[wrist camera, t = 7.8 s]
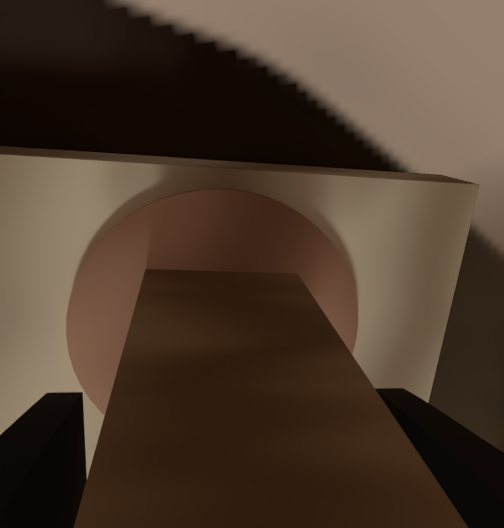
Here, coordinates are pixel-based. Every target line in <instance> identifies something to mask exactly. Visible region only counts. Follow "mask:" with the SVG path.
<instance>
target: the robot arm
mask: <svg viewBox="0 0 504 528" xmlns="http://www.w3.org/2000/svg"><path fill="white" fill-rule="evenodd" d="M375 389H376V391H377V392H378V394H379V395H380V397H381V398H382V400H383V401H384V403H385V404H386V406H387V407H388V409H389V410H390V412H391V413H392V415H393V416H394V418H395V419H396V421H397V422H398V424H399V425H400V427H401V428H402V430H403V431H404V433H405V434H406V436H407V437H408V439H409V440H410V442H411V443H412V445H413V446H414V448H415V449H416V451H417V452H418V453H419V455H420V456H421V458H422V459H423V461H424V462H425V464H426V465H427V467H428V468H429V470H430V471H431V473H432V474H433V476H434V477H435V479H436V480H437V482H438V483H439V485H440V486H441V488H442V489H443V491H444V492H445V494H446V495H447V497H448V498H449V500H450V501H451V503H452V504H453V506H454V507H455V509H456V510H457V512H458V513H459V515H460V516H461V518H462V519H463V521H464V522H465V524H466V525H467V527H468V528H504V453H503V452H501V451H500V450H498V449H497V448H495V447H494V446H492V445H491V444H489V443H488V442H486V441H485V440H483V439H482V438H480V437H479V436H477V435H476V434H474V433H473V432H471V431H470V430H468V429H467V428H465V427H464V426H462V425H461V424H459V423H458V422H456V421H455V420H453V419H452V418H450V417H449V416H447V415H446V414H444V413H443V412H441V411H439V410H438V409H436V408H435V407H433V406H432V405H430V404H429V403H427V402H426V401H424V400H422V399H421V398H419V397H418V396H416V395H414V394H413V393H411V392H409V391H407V390H405V389H404V388H375ZM86 481H87V473H86V452H85V431H84V410H83V392H54V393H46V394H45V395H44V396H43V397H42V398H40V399H39V400H38V401H37V402H36V403H35V404H34V405H32V406H31V407H30V408H29V409H28V410H27V411H26V412H25V413H24V414H23V415H21V416H20V417H19V418H18V419H17V420H16V421H15V422H14V423H13V424H12V425H11V426H9V427H8V428H7V429H6V430H5V431H4V432H3V433H2V434H1V435H0V528H74V524H75V521H76V517H77V514H78V510H79V506H80V503H81V499H82V496H83V492H84V488H85V485H86Z"/></svg>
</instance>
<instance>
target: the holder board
mask: <svg viewBox="0 0 504 528" xmlns="http://www.w3.org/2000/svg"><path fill="white" fill-rule="evenodd" d="M478 189H479V184H475V183H471V182H467V181H463V180H459V179H455V178H451V177H447V176H443V175H434V174H419V173H404V172H388V171H373V170H358V169H343V168H328V167H312V166H297V165H282V164H267V163H252V162H236V161H221V160H206V159H191V158H176V157H160V156H145V155H130V154H115V153H100V152H84V151H69V150H54V149H39V148H24V147H8V146H0V435H1V434H2V433H3V432H4V431H5V430H6V429H7V428H8V427H9V426H11V425H12V424H13V423H14V422H15V421H16V420H17V419H18V418H19V417H20V416H21V415H23V414H24V413H25V412H26V411H27V410H28V409H29V408H30V407H31V406H32V405H34V404H35V403H36V402H37V401H38V400H39V399H40V398H42V397H43V396H44V395H45V394H46V393H54V392H83V410H84V431H85V452H86V473H87V478H88V474H89V470H90V467H91V463H92V460H93V456H94V452H95V449H96V445H97V442H98V438H99V434H100V431H101V427H102V424H103V420H104V416H105V413H106V409H107V406H108V402H109V398H110V395H111V391H112V388H113V384H114V380H115V377H116V373H117V370H118V366H119V362H120V359H121V355H122V352H123V348H124V344H125V341H126V337H127V334H128V330H129V326H130V323H131V319H132V316H133V312H134V308H135V305H136V301H137V298H138V294H139V290H140V287H141V283H142V280H143V276H144V272H145V269H165V270H199V271H232V272H266V273H298V275H299V276H300V278H301V279H302V281H303V282H304V284H305V285H306V287H307V288H308V290H309V291H310V293H311V294H312V296H313V297H314V299H315V300H316V302H317V303H318V304H319V306H320V307H321V309H322V310H323V312H324V313H325V315H326V316H327V318H328V319H329V321H330V322H331V324H332V325H333V327H334V328H335V330H336V331H337V333H338V334H339V336H340V337H341V339H342V340H343V342H344V343H345V345H346V346H347V348H348V349H349V351H350V352H351V354H352V355H353V357H354V358H355V360H356V361H357V363H358V364H359V366H360V367H361V369H362V370H363V372H364V373H365V375H366V376H367V378H368V379H369V380H370V382H371V383H372V385H373V386H374V388H404V389H405V390H407V391H409V392H411V393H413V394H414V395H416V396H418V397H419V398H421V399H422V400H424V401H426V402H427V403H428V401H429V397H430V393H431V389H432V384H433V380H434V376H435V372H436V367H437V363H438V359H439V355H440V350H441V346H442V342H443V338H444V333H445V329H446V325H447V321H448V317H449V312H450V308H451V304H452V300H453V295H454V291H455V287H456V283H457V278H458V274H459V270H460V266H461V261H462V257H463V253H464V249H465V244H466V240H467V236H468V232H469V227H470V223H471V219H472V215H473V210H474V206H475V202H476V197H477V193H478Z"/></svg>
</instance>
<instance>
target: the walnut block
mask: <svg viewBox="0 0 504 528" xmlns="http://www.w3.org/2000/svg"><path fill="white" fill-rule="evenodd" d="M74 528H468V527H467V525H466V524H465V522H464V521H463V519H462V518H461V516H460V515H459V513H458V512H457V510H456V509H455V507H454V506H453V504H452V503H451V501H450V500H449V498H448V497H447V495H446V494H445V492H444V491H443V489H442V488H441V486H440V485H439V483H438V482H437V480H436V479H435V477H434V476H433V474H432V473H431V471H430V470H429V468H428V467H427V465H426V464H425V462H424V461H423V459H422V458H421V456H420V455H419V453H418V452H417V451H416V449H415V448H414V446H413V445H412V443H411V442H410V440H409V439H408V437H407V436H406V434H405V433H404V431H403V430H402V428H401V427H400V425H399V424H398V422H397V421H396V419H395V418H394V416H393V415H392V413H391V412H390V410H389V409H388V407H387V406H386V404H385V403H384V401H383V400H382V398H381V397H380V395H379V394H378V392H377V391H376V389H375V388H374V386H373V385H372V383H371V382H370V380H369V379H368V378H367V376H366V375H365V373H364V372H363V370H362V369H361V367H360V366H359V364H358V363H357V361H356V360H355V358H354V357H353V355H352V354H351V352H350V351H349V349H348V348H347V346H346V345H345V343H344V342H343V340H342V339H341V337H340V336H339V334H338V333H337V331H336V330H335V328H334V327H333V325H332V324H331V322H330V321H329V319H328V318H327V316H326V315H325V313H324V312H323V310H322V309H321V307H320V306H319V304H318V303H317V302H316V300H315V299H314V297H313V296H312V294H311V293H310V291H309V290H308V288H307V287H306V285H305V284H304V282H303V281H302V279H301V278H300V276H299V275H298V273H266V272H232V271H199V270H165V269H145V272H144V276H143V280H142V283H141V287H140V290H139V294H138V298H137V301H136V305H135V308H134V312H133V316H132V319H131V323H130V326H129V330H128V334H127V337H126V341H125V344H124V348H123V352H122V355H121V359H120V362H119V366H118V370H117V373H116V377H115V380H114V384H113V388H112V391H111V395H110V398H109V402H108V406H107V409H106V413H105V416H104V420H103V424H102V427H101V431H100V434H99V438H98V442H97V445H96V449H95V452H94V456H93V460H92V463H91V467H90V470H89V474H88V478H87V481H86V485H85V488H84V492H83V496H82V499H81V503H80V506H79V510H78V514H77V517H76V521H75V524H74Z"/></svg>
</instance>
